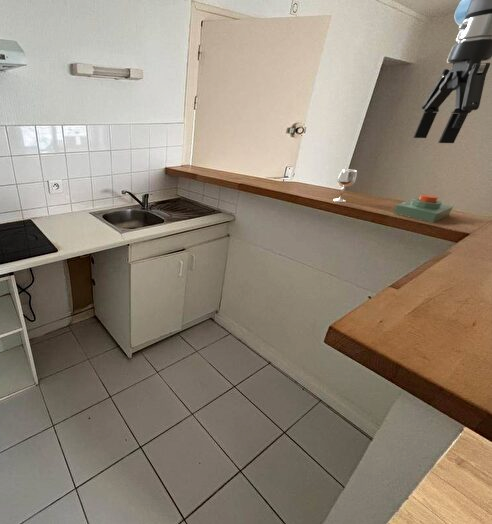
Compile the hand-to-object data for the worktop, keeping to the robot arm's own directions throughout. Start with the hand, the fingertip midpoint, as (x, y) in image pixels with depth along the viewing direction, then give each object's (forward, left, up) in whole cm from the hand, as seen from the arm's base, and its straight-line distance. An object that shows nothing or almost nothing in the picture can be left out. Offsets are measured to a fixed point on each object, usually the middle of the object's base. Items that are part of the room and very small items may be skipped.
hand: (431, 140), depth 76 cm
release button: (-23, -9, -21) cm, 32 cm away
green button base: (-23, -10, -26) cm, 36 cm away
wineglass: (-8, -29, -26) cm, 40 cm away
